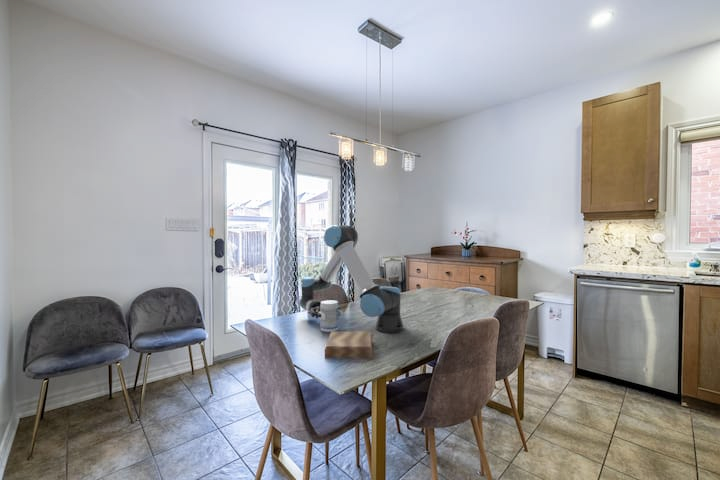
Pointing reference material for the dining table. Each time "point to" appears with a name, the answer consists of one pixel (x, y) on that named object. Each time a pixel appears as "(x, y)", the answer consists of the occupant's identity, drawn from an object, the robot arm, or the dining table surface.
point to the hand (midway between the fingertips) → (333, 315)
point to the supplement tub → (329, 315)
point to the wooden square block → (349, 345)
